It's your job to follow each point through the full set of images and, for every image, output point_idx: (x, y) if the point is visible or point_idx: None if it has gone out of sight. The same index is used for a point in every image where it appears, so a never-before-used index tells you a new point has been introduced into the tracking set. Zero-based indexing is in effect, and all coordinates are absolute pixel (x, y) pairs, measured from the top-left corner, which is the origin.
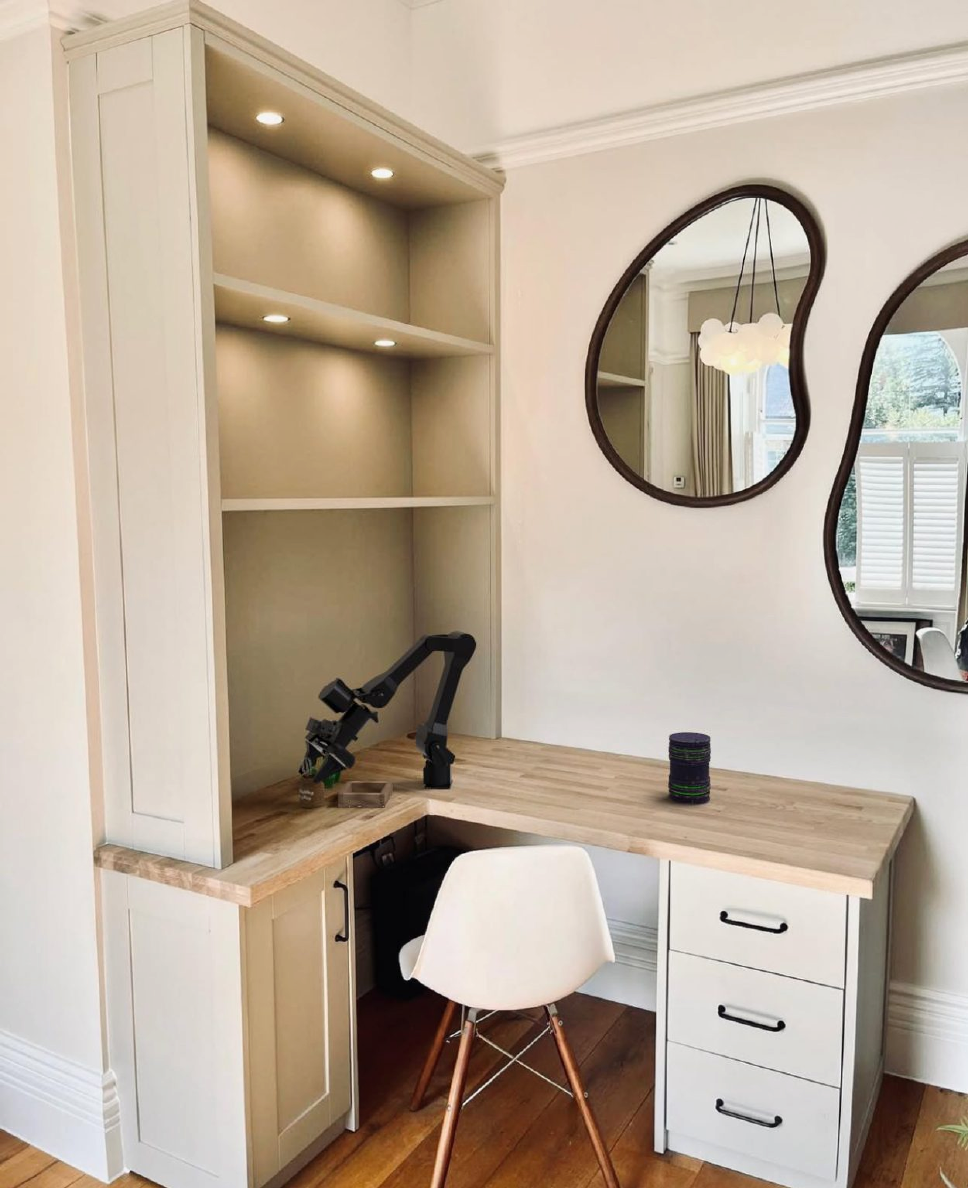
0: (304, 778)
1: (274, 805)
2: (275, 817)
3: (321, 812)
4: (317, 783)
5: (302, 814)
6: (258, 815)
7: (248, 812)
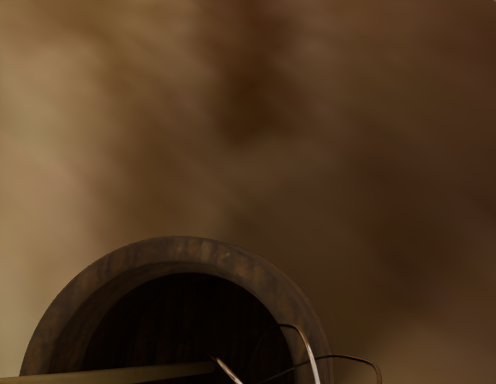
0: (161, 239)
1: (436, 186)
2: (220, 38)
3: (34, 274)
4: (61, 363)
5: (119, 169)
6: (337, 4)
7: (437, 3)
